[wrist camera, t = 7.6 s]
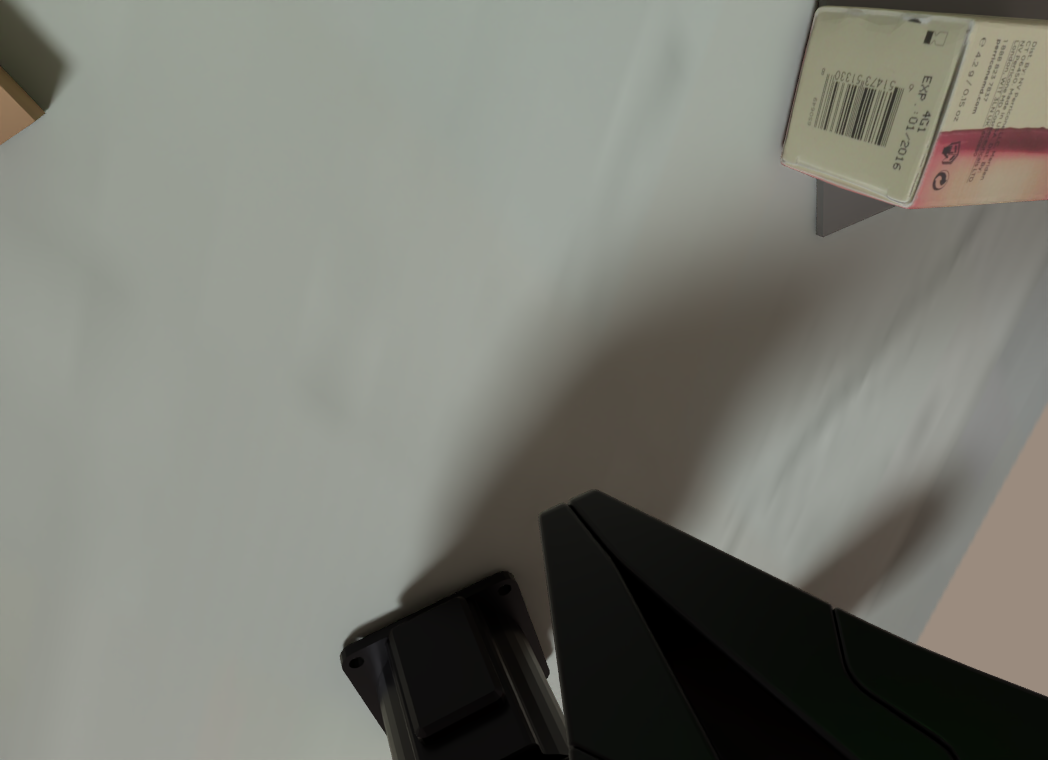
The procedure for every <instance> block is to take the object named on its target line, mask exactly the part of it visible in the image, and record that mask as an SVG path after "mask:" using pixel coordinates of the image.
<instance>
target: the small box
mask: <svg viewBox="0 0 1048 760" xmlns="http://www.w3.org/2000/svg"><path fill="white" fill-rule="evenodd" d="M781 163H782V164H783V165H784V166H787V167H789V168H792V169H794V170H797V171H799V172H802V173H804V174H807V175H809V176H811V177H814V178H817V179H819V180H822V181H824V182H827V183H829V184H832V185H834V186H837V187H839V188H842V189H845V190H848V191H852V192H855V193H858V194H861V195H864V196H867V197H870V198H873V199H876V200H880V201H883V202H886V203H889V204H892V205H896V206H899V207H902V208H907V209H919V208H934V207H951V206H966V205H980V204H994V203H1006V202H1021V201H1037V200H1048V20H1041V19H1027V18H1013V17H999V16H987V15H973V14H958V13H940V12H925V11H910V10H896V9H883V8H869V7H851V6H821V7H819V8H818V9H817V10H816V12H815V14H814V19H813V23H812V27H811V32H810V36H809V40H808V44H807V47H806V51H805V55H804V59H803V63H802V68H801V72H800V76H799V80H798V84H797V88H796V93H795V97H794V101H793V106H792V110H791V114H790V119H789V123H788V128H787V132H786V137H785V141H784V145H783V149H782V153H781Z"/></svg>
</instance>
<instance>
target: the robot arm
mask: <svg viewBox="0 0 1048 760" xmlns="http://www.w3.org/2000/svg"><path fill="white" fill-rule="evenodd" d="M538 518H539V528H540V535H541V543H542V551H543V558H544V566H545V573H546V581H547V589H548V596H549V604H550V612H551V619H552V627H553V635H554V642H555V650H556V658H557V665H558V673H559V681H560V688H561V696H562V703H563V711H564V714H563V712H562V710H561V708H560V706H559V704H558V702H557V700H556V698H555V696H554V694H553V692H552V690H551V688H550V686H549V684H548V681H547V678H548V676H549V674H550V671H549V668H548V665H547V663H546V660H545V657H544V654H543V652H542V649H541V646H540V644H539V641H538V638H537V635H536V633H535V630H534V627H533V625H532V622H531V619H530V617H529V614H528V611H527V608H526V606H525V603H524V600H523V598H522V595H521V592H520V589H519V587H518V584H517V582H516V580H515V578H514V576H513V575H512V573H510V572H508V571H502V572H499V573H496V574H494V575H492V576H490V577H488V578H486V579H484V580H482V581H480V582H478V583H476V584H474V585H472V586H470V587H468V588H466V589H464V590H461V591H459V592H457V593H455V594H453V595H451V596H449V597H447V598H445V599H443V600H441V601H439V602H437V603H435V604H433V605H431V606H429V607H426V608H424V609H422V610H420V611H418V612H416V613H414V614H412V615H410V616H408V617H406V618H404V619H402V620H400V621H398V622H396V623H394V624H391V625H389V626H387V627H385V628H383V629H381V630H379V631H377V632H375V633H373V634H371V635H369V636H367V637H365V638H363V639H361V640H359V641H356V642H354V643H352V644H350V645H349V646H347V647H345V648H344V649H343V651H342V652H341V654H340V660H341V665H342V669H343V671H344V672H345V674H346V675H347V677H348V678H349V680H350V681H351V683H352V684H353V686H354V687H355V689H356V690H357V692H358V693H359V695H360V696H361V698H362V699H363V701H364V702H365V704H366V705H367V707H368V708H369V710H370V711H371V713H372V714H373V716H374V717H375V719H376V720H377V722H378V723H379V725H380V726H381V728H382V729H383V731H384V732H385V734H386V735H387V738H388V742H389V746H390V751H391V755H392V759H393V760H1048V697H1047V696H1044V695H1042V694H1039V693H1037V692H1034V691H1032V690H1029V689H1026V688H1024V687H1021V686H1018V685H1016V684H1013V683H1011V682H1008V681H1006V680H1003V679H1000V678H998V677H995V676H993V675H990V674H987V673H985V672H982V671H980V670H977V669H974V668H972V667H970V666H967V665H965V664H962V663H960V662H957V661H955V660H952V659H950V658H948V657H945V656H943V655H940V654H938V653H935V652H933V651H931V650H928V649H926V648H923V647H921V646H918V645H916V644H914V643H912V642H909V641H907V640H905V639H903V638H901V637H899V636H896V635H894V634H892V633H890V632H888V631H886V630H883V629H881V628H879V627H877V626H875V625H873V624H871V623H868V622H866V621H864V620H862V619H860V618H858V617H856V616H854V615H852V614H850V613H848V612H846V611H844V610H842V609H840V608H835V609H834V610H833V608H832V606H831V604H829V603H827V602H825V601H823V600H821V599H819V598H817V597H815V596H813V595H811V594H809V593H807V592H805V591H803V590H801V589H799V588H797V587H795V586H792V585H790V584H788V583H786V582H784V581H782V580H780V579H778V578H776V577H774V576H772V575H770V574H768V573H766V572H764V571H762V570H760V569H758V568H756V567H754V566H752V565H750V564H748V563H746V562H744V561H742V560H740V559H738V558H736V557H733V556H731V555H729V554H727V553H725V552H723V551H721V550H719V549H717V548H715V547H713V546H711V545H709V544H707V543H705V542H703V541H701V540H699V539H697V538H695V537H693V536H691V535H689V534H687V533H685V532H683V531H681V530H679V529H676V528H674V527H672V526H670V525H668V524H666V523H664V522H662V521H660V520H658V519H656V518H654V517H652V516H650V515H648V514H646V513H644V512H642V511H640V510H638V509H636V508H634V507H632V506H630V505H628V504H626V503H624V502H622V501H619V500H617V499H615V498H613V497H611V496H609V495H607V494H605V493H603V492H601V491H599V490H590V491H587V492H585V493H583V494H581V495H579V496H576V497H574V498H572V499H570V500H569V502H568V504H566V503H561V504H559V505H556V506H554V507H552V508H550V509H548V510H545V511H543V512H541V513H540V514H539V517H538ZM503 585H504V586H503ZM501 586H503V587H501ZM357 657H358V658H357ZM354 658H355V659H354Z"/></svg>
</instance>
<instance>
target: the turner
mask: <svg viewBox="0 0 1048 760" xmlns="http://www.w3.org/2000/svg"><path fill="white" fill-rule="evenodd" d="M44 114H45V112H44V111H43V110H42V109H41V108H40V107H39V106H38V105H37V104H36V103H35V101H34V100H33V99H32V98H31V97H30V96H29V95H28V94H27V93H26V92H25V91H24V90H23V89H22V88H21V87H20V86H19V85H18V84H17V83H16V82H15V81H14V80H13V79H12V77H11V76H10V75H9V74H8V73H7V72H6V71H5V70H4V69H3V68H2V67H1V66H0V145H1V144H2V143H4V142H5V141H7V140H8V139H10V138H11V137H13V136H14V135H16V134H17V133H19V132H20V131H21V130H23V129H24V128H26V127H27V126H29V125H30V124H32V123H33V122H35V121H36V120H37V119H39V118H40V117H41V116H42V115H44Z"/></svg>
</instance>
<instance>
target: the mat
mask: <svg viewBox="0 0 1048 760" xmlns="http://www.w3.org/2000/svg"><path fill="white" fill-rule="evenodd" d="M821 6H851V7H869V8H883V9H896V10H910V11H925V12H940V13H958V14H973V15H987V16H999V17H1013V18H1027V19H1041V20H1048V0H819V7H821ZM894 206H896V205H892V204H889V203H886V202H883V201H880V200H876V199H873V198H870V197H867V196H864V195H861V194H858V193H855V192H852V191H848V190H845V189H842V188H839V187H837V186H834V185H832V184H829V183H827V182H824V181H822V180H819V179H817V226H816V234H817V235H819V236H822V237H824V236H827V235H829V234H831V233H834V232H836V231H838V230H841V229H843V228H845V227H848V226H850V225H852V224H855V223H857V222H859V221H862V220H864V219H866V218H869V217H871V216H873V215H876V214H878V213H880V212H883V211H885V210H887V209H890V208H892V207H894Z"/></svg>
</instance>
